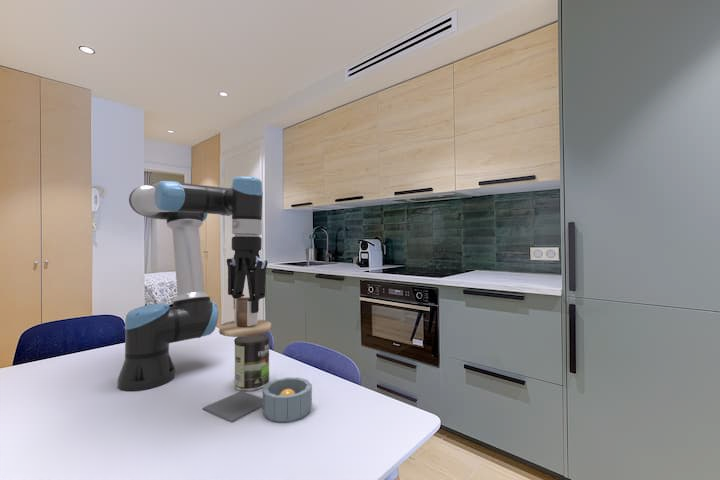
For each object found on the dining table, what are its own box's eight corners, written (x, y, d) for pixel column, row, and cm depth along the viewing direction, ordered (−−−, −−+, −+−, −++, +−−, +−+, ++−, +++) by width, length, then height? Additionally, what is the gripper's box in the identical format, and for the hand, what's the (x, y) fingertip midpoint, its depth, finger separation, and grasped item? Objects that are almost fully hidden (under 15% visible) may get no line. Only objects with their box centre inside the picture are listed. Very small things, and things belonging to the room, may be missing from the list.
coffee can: (275, 378, 106) (275, 334, 106) (259, 392, 96) (259, 343, 96) (245, 376, 108) (245, 332, 108) (227, 389, 98) (227, 341, 98)
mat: (202, 409, 86) (202, 407, 86) (241, 392, 96) (241, 390, 96) (231, 422, 80) (231, 421, 80) (270, 402, 90) (270, 401, 90)
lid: (208, 331, 86) (208, 299, 86) (248, 321, 97) (249, 293, 97) (241, 340, 79) (242, 305, 79) (281, 328, 90) (281, 298, 90)
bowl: (253, 413, 84) (253, 390, 84) (287, 395, 94) (287, 374, 94) (287, 428, 77) (287, 402, 77) (320, 406, 87) (320, 383, 87)
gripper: (213, 235, 89) (212, 321, 90) (258, 235, 80) (257, 332, 80) (237, 235, 96) (236, 316, 96) (281, 236, 87) (279, 325, 87)
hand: (245, 323), depth 88 cm, fingers closed on lid, 4 cm apart
